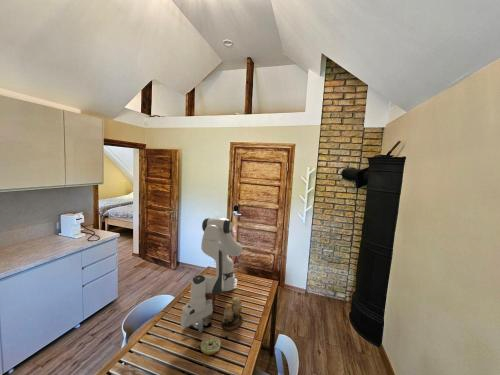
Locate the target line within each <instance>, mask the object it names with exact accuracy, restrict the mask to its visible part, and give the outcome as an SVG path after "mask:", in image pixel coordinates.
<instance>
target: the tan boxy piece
mask: <svg viewBox="0 0 500 375" xmlns="http://www.w3.org/2000/svg"><path fill="white" fill-rule="evenodd" d="M212 315H213V313H212V314H210V315H208V316H206V317H204V318H203V319H202V320H203V326H204V327H205V326H208V325H209V323H210V322H211V319H212V317H213V316H212ZM197 322H198V321H197ZM191 326H192V325H190V326H188V327H186V328H185V329H190V328H191Z"/></svg>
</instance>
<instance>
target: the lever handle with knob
mask: <svg viewBox="0 0 500 375" xmlns="http://www.w3.org/2000/svg"><path fill="white" fill-rule="evenodd" d="M191 326H192V327H194V323H193V324H192V325H191ZM203 326H204V325H203V320H202V321H201V323H200V326H199V327H197V328H196V329H197V330H198V332H197V333H198V334H203V328H204V327H203Z"/></svg>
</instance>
